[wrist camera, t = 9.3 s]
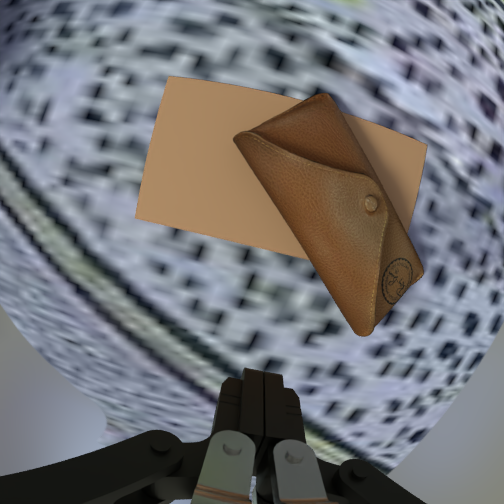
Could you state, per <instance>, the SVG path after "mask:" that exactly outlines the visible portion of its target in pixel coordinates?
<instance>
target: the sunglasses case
mask: <svg viewBox="0 0 504 504" xmlns="http://www.w3.org/2000/svg"><path fill="white" fill-rule="evenodd" d="M233 142H234V143H235V144H236V146H237V148H238V149H239V151H240V152H241V154H242V155H243V157H244V158H245V160H246V162H247V163H248V165H249V166H250V168H251V169H252V171H253V172H254V174H255V176H256V177H257V179H258V180H259V181H260V183H261V185H262V186H263V188H264V189H265V191H266V192H267V194H268V195H269V197H270V198H271V200H272V202H273V203H274V205H275V206H276V208H277V209H278V211H279V212H280V214H281V215H282V217H283V219H284V220H285V221H286V223H287V225H288V226H289V228H290V229H291V231H292V233H293V234H294V236H295V237H296V239H297V240H298V242H299V244H300V245H301V247H302V248H303V250H304V251H305V253H306V255H307V256H308V258H309V260H310V261H311V263H312V264H313V266H314V268H315V269H316V271H317V273H318V274H319V276H320V278H321V279H322V281H323V283H324V284H325V286H326V288H327V289H328V291H329V293H330V294H331V296H332V298H333V299H334V301H335V302H336V304H337V306H338V307H339V309H340V311H341V313H342V314H343V316H344V317H345V319H346V321H347V322H348V323H349V325H350V326H351V328H352V330H353V331H354V333H355V334H357V335H358V336H362V337H365V336H368V335H370V334H371V333H372V332H373V331H374V327H375V326H376V325H377V324H378V323H379V322H380V321H381V320H382V319H383V318H384V316H385V315H386V314H387V313H388V312H389V311H390V309H391V308H392V307H393V306H394V305H395V304H396V303H397V301H398V300H399V299H400V298H401V297H402V295H403V294H404V293H405V292H406V290H407V289H408V288H409V287H410V286H411V285H413V284H414V283H415V282H417V281H418V280H419V279H420V278H422V276H423V274H424V270H423V266H422V264H421V261H420V259H419V257H418V254H417V253H416V250H415V248H414V246H413V244H412V243H411V240H410V238H409V236H408V234H407V233H406V231H405V228H404V227H403V224H402V223H401V220H400V219H399V216H398V215H397V213H396V211H395V209H394V207H393V205H392V202H391V201H390V199H389V197H388V195H387V193H386V191H385V189H384V188H383V185H382V184H381V182H380V180H379V178H378V176H377V175H376V172H375V171H374V169H373V167H372V165H371V163H370V162H369V160H368V158H367V157H366V155H365V153H364V151H363V149H362V148H361V146H360V144H359V142H358V141H357V139H356V137H355V136H354V133H353V132H352V130H351V128H350V127H349V125H348V123H347V122H346V120H345V118H344V116H343V115H342V113H341V111H340V110H339V108H338V106H337V105H336V103H335V101H334V100H333V99H332V98H331V97H330V96H329V94H328V93H320V94H316V95H314V96H312V97H310V98H308V99H306V100H304V101H302V102H300V103H298V104H297V105H295V106H293V107H291V108H290V109H288V110H286V111H284V112H282V113H281V114H279V115H276V116H274V117H273V118H271V119H269V120H267V121H265V122H263V123H262V124H261V125H259V126H257V127H255V128H253V129H251V130H248V131H242V132H240V133H238V134H236V135H235V136H234V137H233Z"/></svg>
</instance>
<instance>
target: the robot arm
mask: <svg viewBox="0 0 504 504" xmlns="http://www.w3.org/2000/svg"><path fill="white" fill-rule="evenodd" d="M300 407H301V406H300V400H299V397H298V396H297V394H296V393H295V391H294V390H293V389H290V388H284V384H283V376H282V375H281V374H275V373H270V372H265V371H264V372H263V371H259V370H254V369H249V368H244V370H243V373H242V377H241V379H236V378H231V377H228V378H227V379H226V380H225V381H224V382H223V383H222V386H221V390H220V394H219V398H218V402H217V406H216V410H215V415H214V421H213V426H212V431H211V435H210V437H208V438H207V439H205V440H203V441H200V442H193V443H182V442H181V440H180V439H179V438H178V437H177V436H175V435H174V434H172V433H170V432H167V431H163V430H150V431H147V432H144V433H142V434H139V435H137V436H134V437H132V438H129V439H126V440H124V441H121V442H118V443H116V444H113V445H110V446H107V447H105V448H102V449H99V450H96V451H93V452H91V453H87V454H84V455H81V456H78V457H75V458H71V459H68V460H65V461H61V462H58V463H55V464H51V465H47V466H43V467H40V468H36V469H32V470H27V471H23V472H19V473H14V474H10V475H5V476H0V504H169V503H171V502H173V501H174V500H178V499H179V500H180V499H192V500H191V504H252V501H251V500H249V494H250V487H251V480H252V476H256V485H255V487H254V489H253V492H252V498H253V504H426V503H425V502H423V501H422V500H420V499H419V498H417V497H416V496H414V495H413V494H411V493H410V492H408V491H407V490H405V489H404V488H403V487H401V486H400V485H398V484H397V483H395V482H394V481H393V480H391V479H390V478H388V477H387V476H386V475H384V474H383V473H382V472H380V471H379V470H378V469H376V468H375V467H374V466H372V465H371V464H369V463H368V462H366V461H363V460H360V459H349V460H346V461H345V462H343V463H342V464H341V466H339V465H336V464H332V463H329V462H325V461H323V460H320V459H318V458H317V457H316V455H315V452H314V451H313V449H312V448H311V447H310V446H308V445H307V444H306V439H305V432H304V426H303V419H302V416H301V415H302V413H301V409H300Z"/></svg>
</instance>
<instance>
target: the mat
mask: <svg viewBox="0 0 504 504" xmlns="http://www.w3.org/2000/svg"><path fill="white" fill-rule="evenodd" d="M300 102H302V100H298V99H295V98H291V97H287V96H283V95H278V94H274V93H270V92H265V91H261V90H256V89H251V88H246V87H241V86H235V85H230V84H224V83H218V82H212V81H205V80H198V79H190V78H182V77H172V76H169V77H168V80H167V84H166V87H165V90H164V94H163V97H162V100H161V104H160V107H159V111H158V115H157V118H156V122H155V126H154V130H153V134H152V138H151V142H150V146H149V150H148V155H147V159H146V163H145V168H144V173H143V177H142V182H141V187H140V192H139V198H138V203H137V209H136V214H135V218H136V219H140V220H144V221H148V222H153V223H157V224H161V225H165V226H170V227H174V228H178V229H182V230H186V231H191V232H195V233H199V234H203V235H208V236H212V237H216V238H220V239H224V240H228V241H233V242H237V243H241V244H245V245H249V246H253V247H258V248H262V249H266V250H270V251H274V252H278V253H282V254H287V255H291V256H295V257H299V258H303V259H307V260H309V258H308V256H307V255H306V253H305V251H304V250H303V248H302V247H301V245H300V244H299V242H298V240H297V239H296V237H295V236H294V234H293V233H292V231H291V229H290V228H289V226H288V225H287V223H286V221H285V220H284V219H283V217H282V215H281V214H280V212H279V211H278V209H277V208H276V206H275V205H274V203H273V202H272V200H271V198H270V197H269V195H268V194H267V192H266V191H265V189H264V188H263V186H262V185H261V183H260V181H259V180H258V179H257V177H256V176H255V174H254V172H253V171H252V169H251V168H250V166H249V165H248V163H247V162H246V160H245V158H244V157H243V155H242V154H241V152H240V151H239V149H238V148H237V146H236V144H235V143H234V142H233V137H234V136H235V135H236V134H238V133H240V132H242V131H248V130H251V129H253V128H255V127H257V126H259V125H261V124H262V123H263V122H265V121H267V120H269V119H271V118H273V117H274V116H276V115H279V114H281V113H282V112H284V111H286V110H288V109H290V108H291V107H293V106H295V105H297V104H298V103H300ZM341 113H342V115H343V116H344V118H345V120H346V122H347V123H348V125H349V127H350V128H351V130H352V132H353V133H354V136H355V137H356V139H357V141H358V142H359V144H360V146H361V148H362V149H363V151H364V153H365V155H366V157H367V158H368V160H369V162H370V163H371V165H372V167H373V169H374V171H375V172H376V175H377V176H378V178H379V180H380V182H381V184H382V185H383V188H384V189H385V191H386V193H387V195H388V197H389V199H390V201H391V202H392V205H393V207H394V209H395V211H396V213H397V215H398V216H399V219H400V220H401V223H402V224H403V227H404V228H405V231H406V233H408V230H409V226H410V222H411V218H412V214H413V211H414V206H415V202H416V198H417V194H418V189H419V185H420V180H421V176H422V171H423V166H424V161H425V155H426V150H427V145H426V144H424V143H422V142H420V141H417V140H415V139H413V138H410V137H408V136H405V135H403V134H401V133H398V132H396V131H393V130H391V129H388V128H385V127H383V126H380V125H377V124H375V123H372V122H369V121H366V120H364V119H361V118H358V117H355V116H352V115H349V114H346V113H343V112H341Z"/></svg>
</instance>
